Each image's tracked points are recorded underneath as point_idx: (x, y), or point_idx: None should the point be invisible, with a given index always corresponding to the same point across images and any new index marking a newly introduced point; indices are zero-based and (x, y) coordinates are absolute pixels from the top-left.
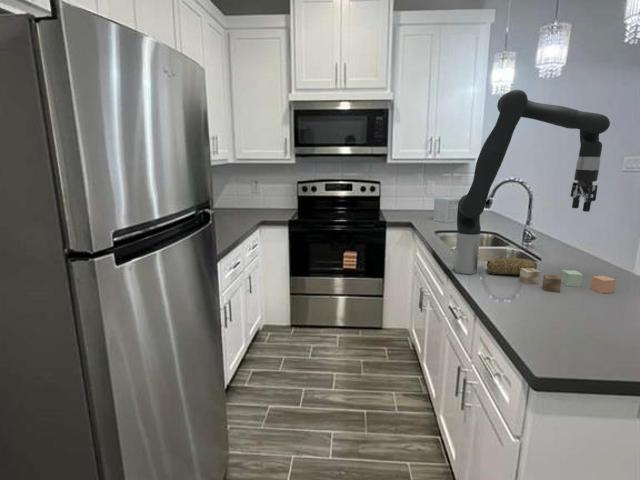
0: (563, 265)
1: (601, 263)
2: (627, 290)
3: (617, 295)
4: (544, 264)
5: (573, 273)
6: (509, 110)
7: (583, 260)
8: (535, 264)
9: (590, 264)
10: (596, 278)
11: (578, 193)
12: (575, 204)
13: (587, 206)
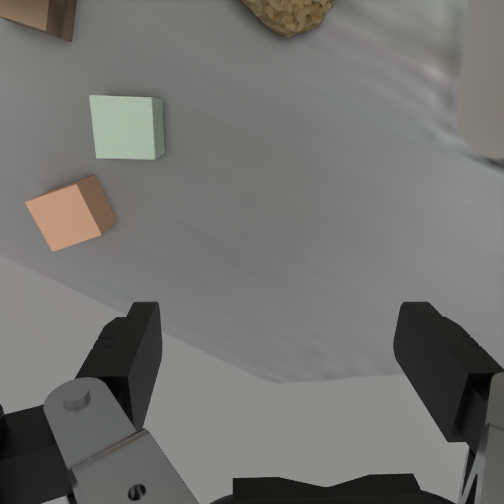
0: (394, 219)
1: None
2: (107, 288)
3: None
4: (413, 145)
5: (104, 123)
6: None
7: None
8: (249, 1)
9: None
10: (58, 190)
11: (412, 487)
12: (419, 348)
13: (94, 360)
